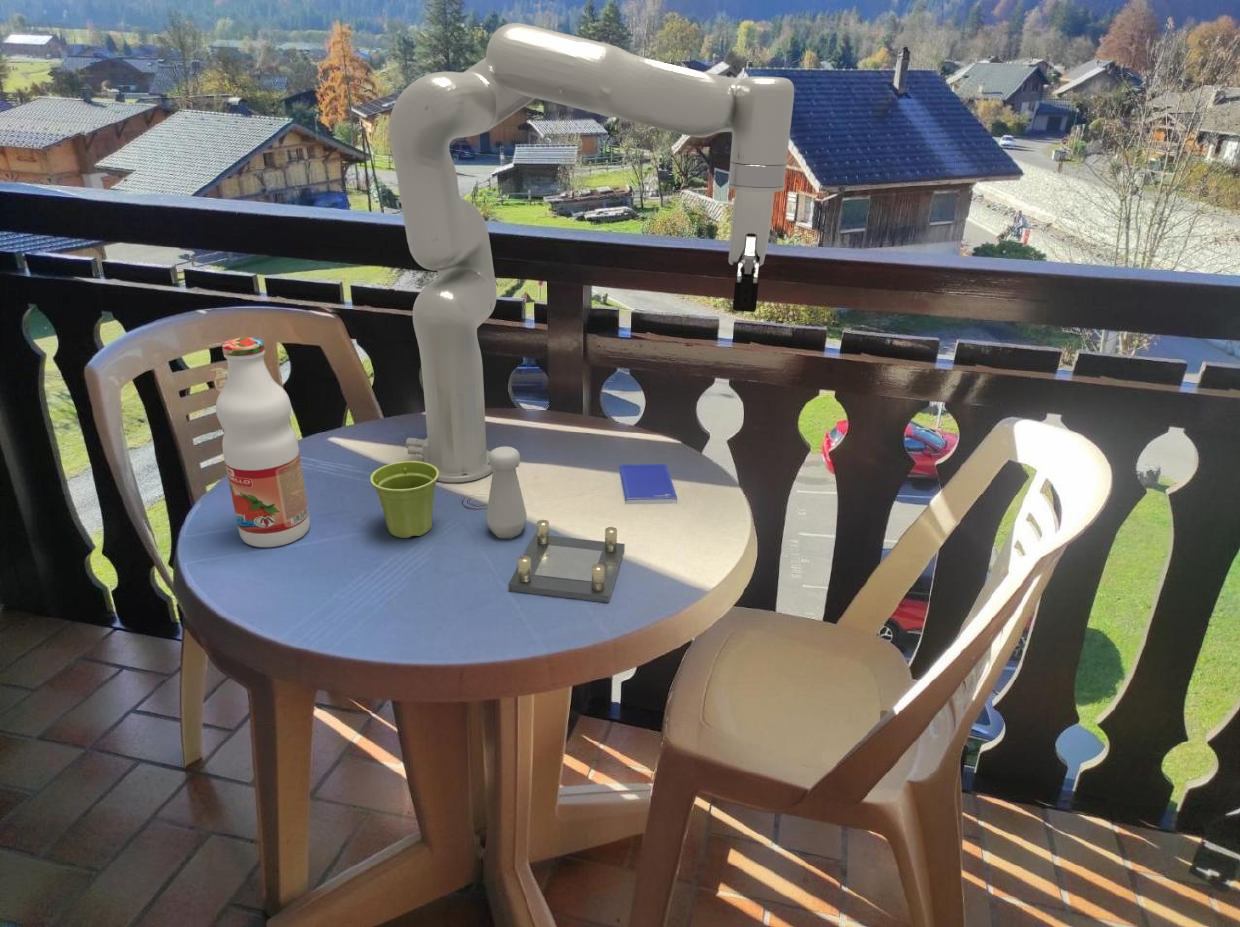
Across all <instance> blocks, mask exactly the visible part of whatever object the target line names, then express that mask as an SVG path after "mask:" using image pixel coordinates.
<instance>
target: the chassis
mask: <svg viewBox="0 0 1240 927" xmlns="http://www.w3.org/2000/svg"><path fill="white" fill-rule="evenodd" d="M549 528H550V524H549V520H547V519H539V520H538V521H537V522H536V533H534V534H533V535H532V538H531V539H530V541H529V544H528V546H527V547H526V549H525V551H524V553H523V555H521V556H518V559H517V561H518V562H517V565H518V566H517V567H516V568H515V570H514V573H513V575H512V577H511V579H510V581H509V583H508V592H515V593H522V594H523V593H524V594H531V595H539V596H549V597H557V598H565V599H566V598H567V599H573V600H580V601H581V600H582V601H589V602H598V603H607V604H608V603H609V602H610V598H611V596H612V592H613V589H614V587H615V586H614V585H615V582H616V579H617V576H618V572H619V569H620V567H621V562H622V559H623V557H624V552H625V548H626V547H625V546H626V545H625V543H621V542H620V543H619V542H617V541H618V540H617V539H618V537H617V536H618V529H617V527H613V526H608V527H606V528H605V531H604V533H605V534H604V535H605V537H604V541H602V540H593V539H584V538H583V539H582V538H575V537H564V536H555V535H550V529H549Z"/></svg>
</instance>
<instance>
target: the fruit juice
mask: <svg viewBox="0 0 1240 927" xmlns="http://www.w3.org/2000/svg"><path fill="white" fill-rule="evenodd" d="M221 349H222V353H223V357H224V358H225V359H226V361H227V362H226V363H227V374H226V380H225V384H224V386H223V388H222V390H221V391H220V393H219V395H218V396H217V399H216V403H215V414H216V417H217V420H218V421H219V424H220V425H221V427H222V429H223V433H224V434H223V436H222V442H221V444H222V453H223V460H224V464H225V469H226V470H225V471H226V474H227V479H228V483H229V489H230V494H231V500H232V505H233V509H234V514H235V518H236V524H237V528H238V529H237V530H238V534H239V536H240V538H241V540H242V541H243V542H244V543H245V544H247V545H249V546H251V547H256V548H257V547H258V548H274V547H281V546H285V545H288V544H292V543H293V542H296V541H297V540H299V539H301V538H302V537H304V536H305V535H306V534H307V532H309V529H310V525H311V524H310V523H311V522H310V520H311V519H310V513H309V507H308V506H309V505H308V500H307V492H306V487H305V480H304V474H303V468H302V461H301V455H300V447H299V443H298V439H297V438H298V437H297V435H296V432H295V430H294V428H293V426H292V425H291V422H290V421H291V420H290V419H291V413H292V405H291V400H290V397H289V394H288V393H287V391H286V390H285V389H284V388H283V386H281V385H279V383H278V382H276V381H275V379H273V377H272V376H271V374H270V371H269V370H268V368H267V365H266V363H265V360H264V355H265V353H266V351H265V350H266V349H265V344H264V341H263V340H262V339H261V338H258V337H257V338H256V337H237V338H232V339H229V340H226V341H223V343H222V345H221Z"/></svg>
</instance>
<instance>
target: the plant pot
mask: <svg viewBox="0 0 1240 927" xmlns="http://www.w3.org/2000/svg"><path fill="white" fill-rule="evenodd" d="M438 476H439V471H438V469H437V468H436V467H434V466H433V465H431V464H428V463H424V462H420V461H418V460H417V461H416V460H415V461H414V460H408V461H407V460H406V461H404V460H403V461H398V462H392V463H389V464H386V465H383V466H381V467H379V468H377V469H376V470H374V471H373V472H372V473H371V475H370V477H369V478H370V484H371V485H372V486H373V487H374V488H375V489H374V490H375V492H376V493H377V494H378V497H379V501H380V504H381V507H382V510H383V514H384V518H385V522H386V527H387V530H388V531H389V533H390V534H391V535H392V536H394V537H395V538H401V539H407V538H411V537H414V536H418V537H420V536H422V535H425V534H426V533H428V532H429V531H430V530H431V529H432V526H433V510H434V508H433V506H434V494H435V492H434V491H435V487H436V484H437V481H436V480H437V479H438Z"/></svg>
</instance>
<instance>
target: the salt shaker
mask: <svg viewBox="0 0 1240 927" xmlns="http://www.w3.org/2000/svg"><path fill="white" fill-rule="evenodd" d="M520 463H521V454H520V452H519V450H518V449H516V448H514V447H512V446H507V445H506V446H498V447H496V448H493V449H492V450H491V451H490V454H489V464H490V466H491V467H492V468H493V472H492V475H491V481H490V482H491V483H490V489H489V495H488V501H487V508H486V515H485V520H486V521H485V522H486V523H487V525H488V527H489V529H490V531H491V533H492V534H494V535H495V536H496V537H497V538H498V539H510V540H511V539H513V538H515V537H517V536H519V535H521V534H522V531H523V529H524V527H525V524H526V522H527V518H528V515H527V511H526V510H527V509H526V507H525V506H526V505H525V503H524V498H523V497H524V496H523V493H522V489H521V486H520V485H521V484H520V482H519V478H518V474H517V470H516V469H517V468H519V466H520Z"/></svg>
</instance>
